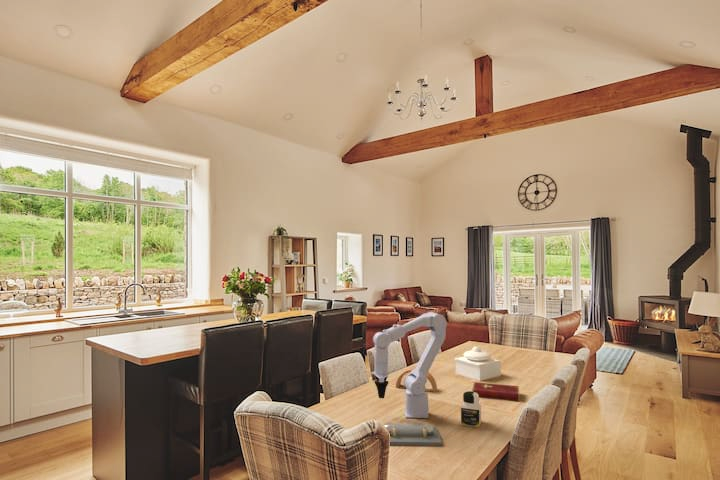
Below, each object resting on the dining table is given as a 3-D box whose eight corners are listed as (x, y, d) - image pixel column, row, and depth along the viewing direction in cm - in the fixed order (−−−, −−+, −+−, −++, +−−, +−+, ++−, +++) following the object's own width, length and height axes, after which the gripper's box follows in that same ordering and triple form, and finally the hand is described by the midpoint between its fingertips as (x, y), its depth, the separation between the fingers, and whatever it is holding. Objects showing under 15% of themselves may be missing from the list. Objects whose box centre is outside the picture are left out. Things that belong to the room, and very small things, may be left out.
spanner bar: (432, 432, 158) (432, 422, 158) (434, 435, 154) (434, 426, 155) (383, 431, 158) (383, 421, 159) (383, 435, 155) (383, 425, 155)
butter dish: (500, 376, 235) (500, 347, 236) (479, 381, 225) (478, 351, 226) (475, 369, 250) (475, 342, 251) (454, 374, 240) (454, 345, 240)
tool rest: (436, 429, 163) (436, 419, 163) (441, 445, 149) (441, 434, 149) (379, 428, 164) (379, 418, 164) (379, 444, 150) (379, 433, 150)
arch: (399, 384, 220) (398, 365, 220) (437, 389, 213) (436, 369, 213) (395, 388, 215) (395, 368, 215) (434, 392, 207) (434, 372, 208)
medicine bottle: (461, 425, 167) (460, 394, 168) (463, 418, 174) (463, 389, 174) (479, 427, 165) (479, 396, 165) (481, 420, 171) (480, 391, 172)
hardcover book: (519, 402, 194) (519, 393, 194) (472, 397, 201) (472, 388, 201) (518, 394, 206) (518, 385, 206) (474, 389, 212) (474, 381, 213)
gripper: (371, 357, 183) (371, 389, 183) (371, 366, 169) (371, 400, 168) (388, 357, 183) (388, 389, 182) (389, 366, 168) (389, 400, 168)
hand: (381, 394), depth 175 cm, fingers open, 7 cm apart
